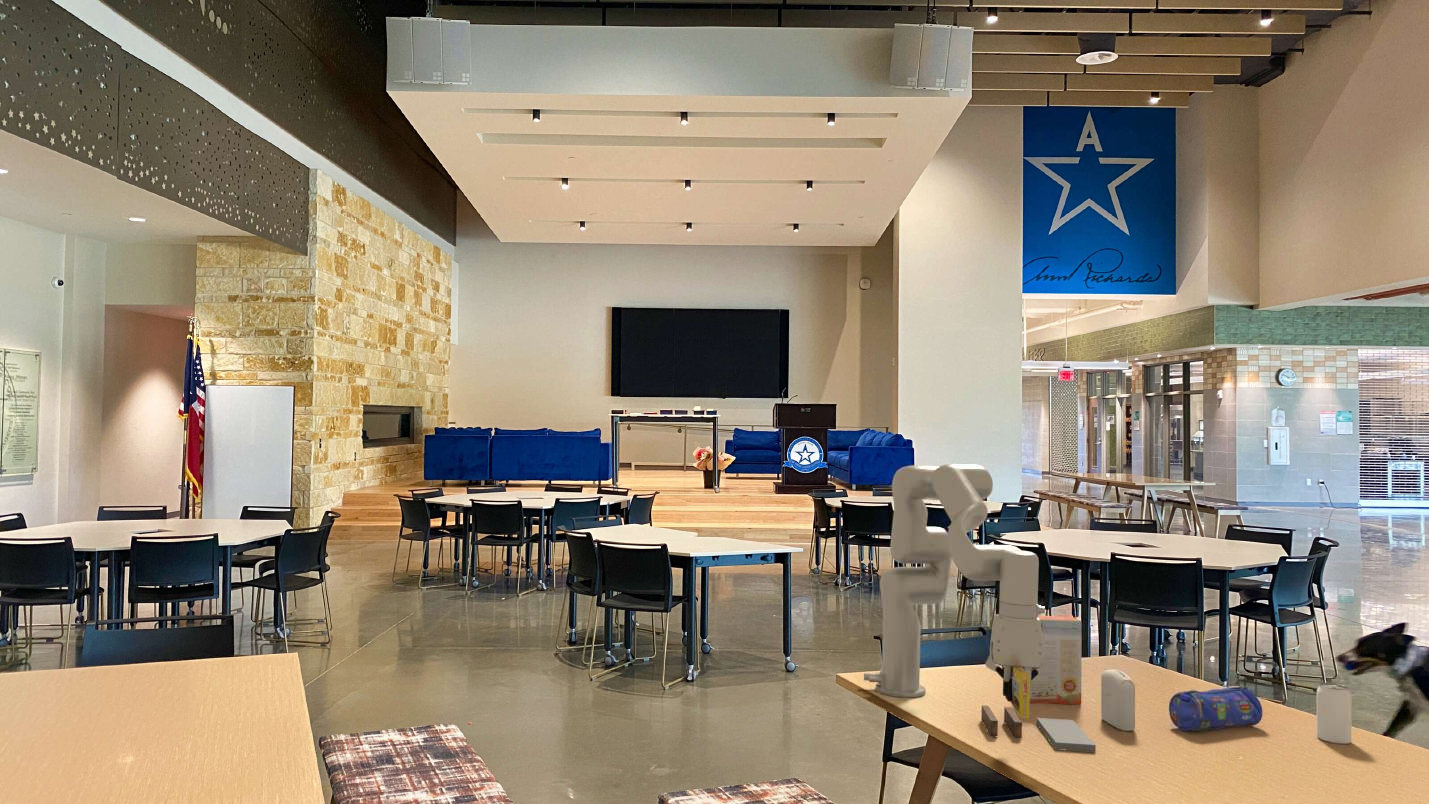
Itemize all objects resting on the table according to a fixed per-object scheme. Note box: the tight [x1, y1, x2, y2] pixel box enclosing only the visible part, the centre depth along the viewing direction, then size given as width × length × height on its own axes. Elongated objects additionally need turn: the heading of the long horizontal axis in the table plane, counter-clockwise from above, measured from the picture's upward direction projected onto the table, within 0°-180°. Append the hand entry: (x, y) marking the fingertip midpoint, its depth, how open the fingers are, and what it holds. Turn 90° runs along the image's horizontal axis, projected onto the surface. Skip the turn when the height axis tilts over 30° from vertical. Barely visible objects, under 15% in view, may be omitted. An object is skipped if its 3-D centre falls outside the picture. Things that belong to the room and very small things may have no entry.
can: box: [1316, 682, 1352, 745], centre depth 206 cm, size 6×6×12 cm
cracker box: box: [1029, 615, 1083, 705], centre depth 232 cm, size 14×6×21 cm, turn 84°
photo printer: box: [1100, 669, 1136, 732], centre depth 213 cm, size 10×4×12 cm, turn 2°
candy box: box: [1010, 667, 1030, 719], centre depth 189 cm, size 16×2×8 cm, turn 173°
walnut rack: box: [980, 704, 1023, 740], centre depth 206 cm, size 7×12×4 cm, turn 173°
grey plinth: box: [1036, 717, 1097, 753], centre depth 201 cm, size 8×18×2 cm, turn 173°
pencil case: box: [1168, 684, 1264, 732], centre depth 213 cm, size 22×9×10 cm, turn 111°
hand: (1015, 699), depth 190 cm, fingers closed on candy box, 2 cm apart
